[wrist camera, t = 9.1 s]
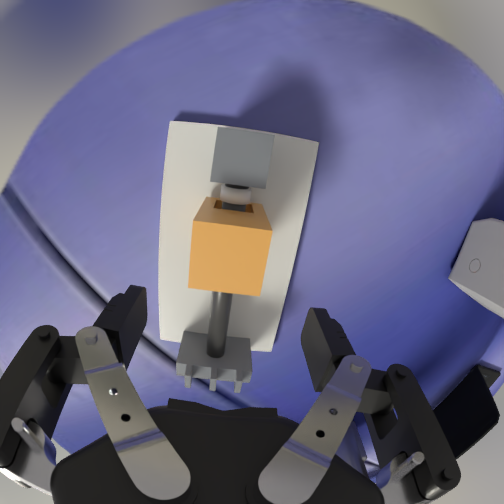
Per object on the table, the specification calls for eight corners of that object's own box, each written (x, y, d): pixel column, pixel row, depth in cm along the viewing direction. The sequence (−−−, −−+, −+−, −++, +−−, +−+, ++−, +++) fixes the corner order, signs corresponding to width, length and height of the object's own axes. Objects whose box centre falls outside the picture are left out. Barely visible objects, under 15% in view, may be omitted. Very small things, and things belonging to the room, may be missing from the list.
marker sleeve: (253, 253, 27) (259, 296, 20) (200, 246, 27) (188, 287, 19) (262, 203, 25) (272, 230, 18) (206, 196, 25) (193, 220, 17)
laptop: (427, 440, 59) (446, 481, 41) (354, 446, 50) (373, 508, 33) (499, 370, 48) (529, 410, 30) (455, 353, 40) (503, 418, 22)
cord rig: (270, 346, 34) (277, 394, 26) (161, 334, 32) (147, 380, 25) (316, 142, 25) (347, 143, 17) (172, 121, 23) (145, 113, 16)
